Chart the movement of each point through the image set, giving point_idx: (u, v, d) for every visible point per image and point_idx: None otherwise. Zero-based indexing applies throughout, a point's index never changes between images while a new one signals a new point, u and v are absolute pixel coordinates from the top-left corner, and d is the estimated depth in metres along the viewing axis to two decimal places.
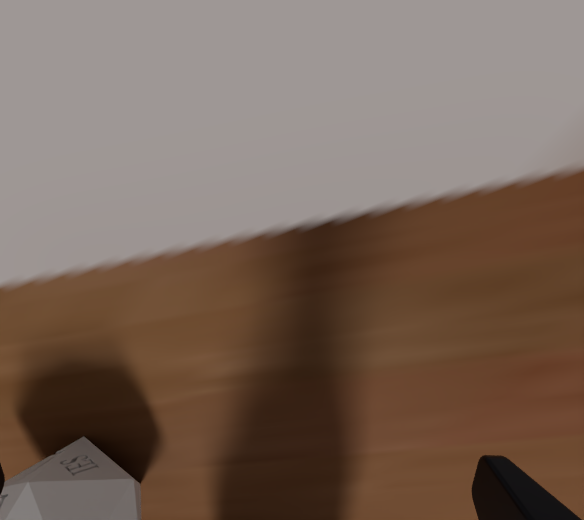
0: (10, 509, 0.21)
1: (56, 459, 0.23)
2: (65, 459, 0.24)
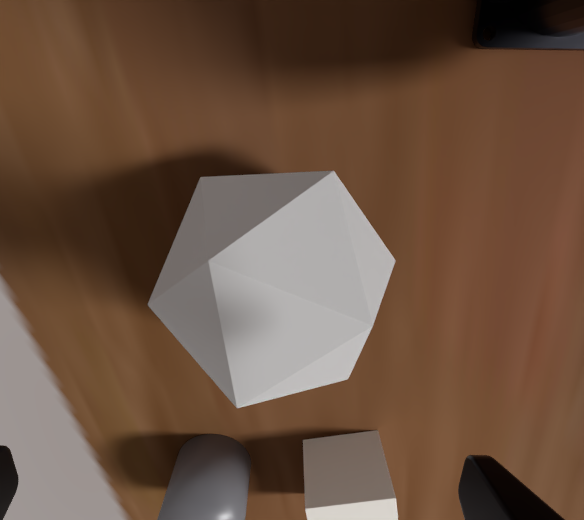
0: (171, 331, 0.15)
1: None
2: None
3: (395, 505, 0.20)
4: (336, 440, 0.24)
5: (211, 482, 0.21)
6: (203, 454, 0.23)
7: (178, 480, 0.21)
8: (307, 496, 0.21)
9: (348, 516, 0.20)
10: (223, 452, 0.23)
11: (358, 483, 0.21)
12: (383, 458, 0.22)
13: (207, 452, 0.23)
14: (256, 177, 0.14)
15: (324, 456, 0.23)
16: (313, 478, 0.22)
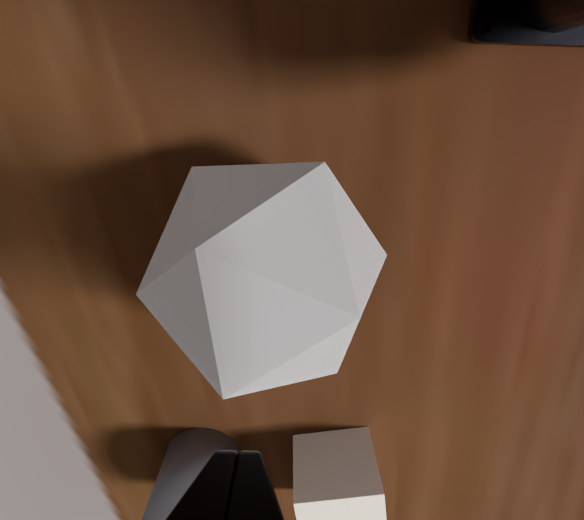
0: (159, 321, 0.15)
1: None
2: None
3: (383, 501, 0.20)
4: (326, 436, 0.24)
5: None
6: (192, 447, 0.23)
7: (166, 473, 0.21)
8: (296, 491, 0.21)
9: (336, 511, 0.20)
10: (212, 446, 0.23)
11: (347, 479, 0.21)
12: (373, 454, 0.22)
13: (196, 446, 0.23)
14: (247, 167, 0.14)
15: (314, 451, 0.23)
16: (302, 473, 0.22)
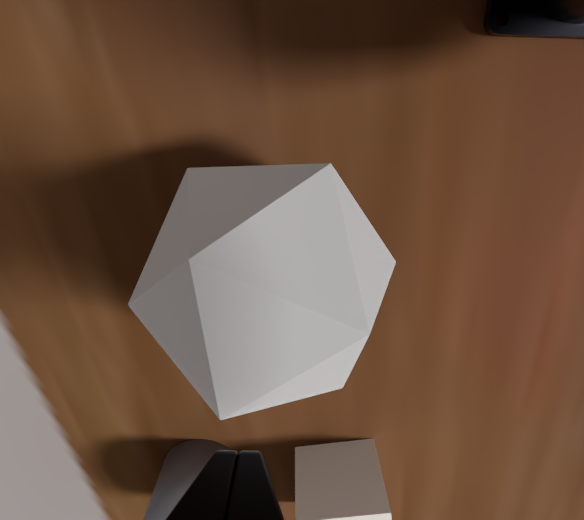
0: (152, 334, 0.14)
1: None
2: None
3: None
4: (329, 448, 0.23)
5: None
6: (190, 460, 0.22)
7: (163, 489, 0.20)
8: (298, 508, 0.20)
9: None
10: None
11: (352, 495, 0.20)
12: (378, 469, 0.21)
13: (194, 459, 0.22)
14: (247, 169, 0.13)
15: (317, 465, 0.22)
16: (304, 489, 0.21)
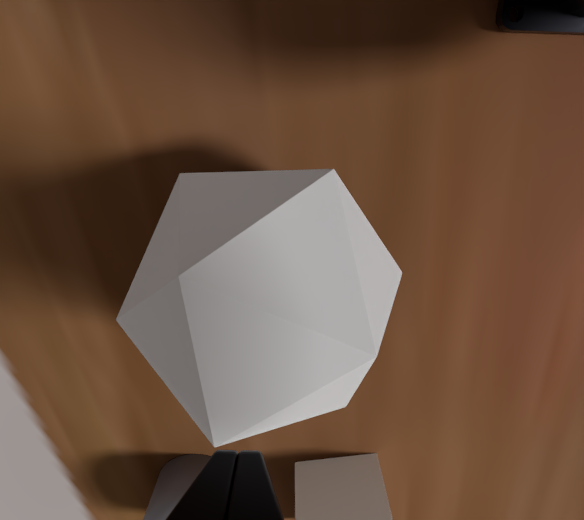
0: (142, 351, 0.13)
1: None
2: None
3: None
4: (331, 464, 0.22)
5: None
6: (185, 477, 0.21)
7: (156, 508, 0.19)
8: None
9: None
10: None
11: (355, 515, 0.19)
12: (382, 486, 0.20)
13: (189, 475, 0.21)
14: (243, 174, 0.12)
15: (318, 482, 0.21)
16: (305, 508, 0.20)
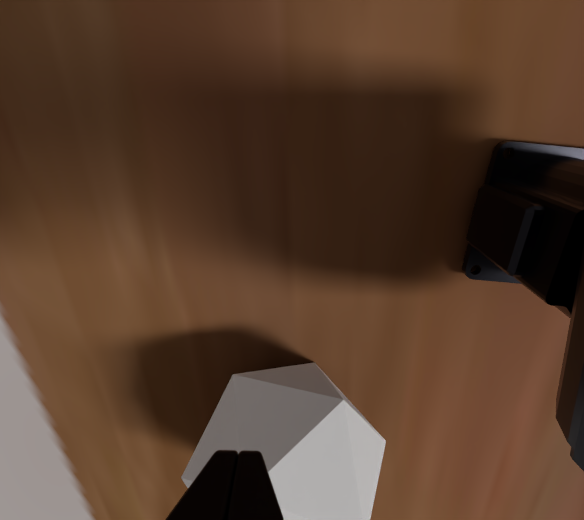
0: None
1: None
2: None
3: None
4: None
5: None
6: None
7: None
8: None
9: None
10: None
11: None
12: None
13: None
14: (280, 389, 0.18)
15: None
16: None
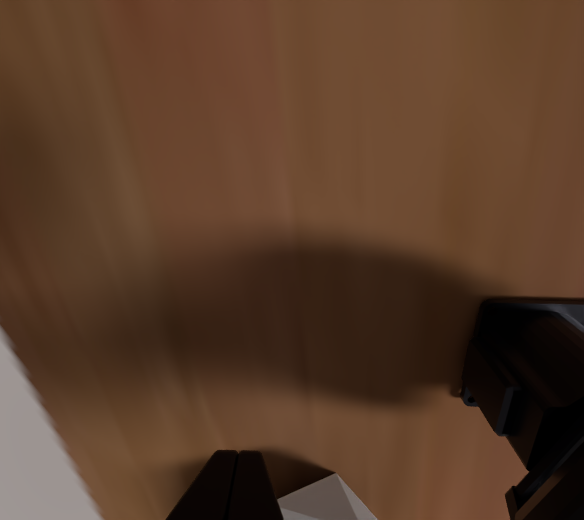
0: None
1: None
2: None
3: None
4: None
5: None
6: None
7: None
8: None
9: None
10: None
11: None
12: None
13: None
14: None
15: None
16: None
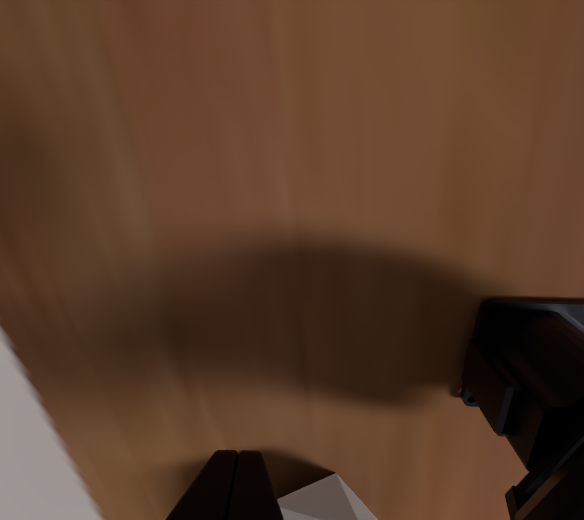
0: None
1: None
2: None
3: None
4: None
5: None
6: None
7: None
8: None
9: None
10: None
11: None
12: None
13: None
14: None
15: None
16: None
